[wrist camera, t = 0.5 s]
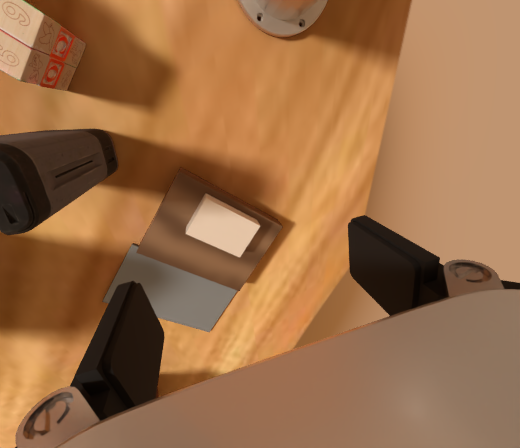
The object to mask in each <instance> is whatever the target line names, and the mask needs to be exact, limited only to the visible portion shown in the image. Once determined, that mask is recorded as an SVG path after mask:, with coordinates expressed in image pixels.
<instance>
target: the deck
mask: <svg viewBox="0 0 520 448" xmlns="http://www.w3.org/2000/svg"><path fill="white" fill-rule="evenodd" d="M205 193H206V194H208V195H210V196H212V197H214V198H216V199H218V200H220V201H222V202H224V203H226V204H227V205H229V206H231V207H233V208H235V209H237V210H239V211H241V212H243V213H245V214H247V215H248V216H250V217H252V218H254V219H256V220H257V221H258V223H259V224H260V227H259V229H258V230H257V232H256V234H255V235H254V237H253V238H252V240H251V241H250V243H249V244H248V246H247V247H246V249H245V250H244V252H243V254H242V255H241V257H237V256H235V255H233V254H230V253H228V252H226V251H224V250H221V249H219V248H217V247H214V246H212V245H210V244H208V243H205V242H203V241H201V240H198V239H196V238H194V237H191V236H189V235H187V234H186V227H187V225H188V223H189V221H190V219H191V218H192V216H193V214H194V212H195V211H196V209H197V207H198V205H199V204H200V202H201V200H202V198H203V197H204V195H205ZM282 227H283V226H282V225H281V224H280V222H279V221H278V220H277V219H275V218H273V217H271V216H270V215H268V214H266V213H264V212H262V211H260V210H259V209H257V208H255V207H253V206H251V205H249V204H248V203H246V202H244V201H242V200H240V199H238V198H237V197H235V196H233V195H231V194H229V193H227V192H225V191H224V190H222V189H220V188H218V187H216V186H214V185H213V184H211V183H209V182H207V181H205V180H203V179H202V178H200V177H198V176H196V175H194V174H192V173H191V172H189V171H187V170H185V169H183V168H181V167H180V169H179V171H178V173H177V175H176V177H175V179H174V180H173V182H172V184H171V186H170V188H169V190H168V192H167V194H166V196H165V198H164V199H163V201H162V203H161V205H160V207H159V209H158V211H157V213H156V215H155V216H154V218H153V220H152V222H151V224H150V226H149V228H148V230H147V232H146V233H145V235H144V237H143V239H142V241H141V243H140V245H139V247H138V250H137V252H136V253H138V254H141V255H144V256H146V257H149V258H152V259H154V260H157V261H160V262H162V263H165V264H168V265H170V266H173V267H176V268H178V269H181V270H184V271H186V272H189V273H192V274H194V275H197V276H200V277H202V278H205V279H208V280H210V281H213V282H216V283H218V284H221V285H224V286H226V287H229V288H232V289H234V290H237V291H240V289H241V288H242V286H243V285H244V283H245V282H246V280H247V279H248V277H249V276H250V275H251V273H252V272H253V270H254V269H255V267H256V266H257V264H258V263H259V261H260V260H261V258H262V257H263V255H264V254H265V252H266V251H267V249H268V248H269V246H270V245H271V243H272V242H273V241H274V239H275V238H276V236H277V235H278V233H279V232H280V230H281V229H282Z"/></svg>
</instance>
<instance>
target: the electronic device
mask: <svg viewBox="0 0 520 448" xmlns="http://www.w3.org/2000/svg"><path fill="white" fill-rule="evenodd" d="M117 168H118V161H117V157H116V153H115V149H114V145H113V141H112V139H111V137H110V136H109V134H107V133H106V132H105V131H103V130H100V129H76V130H49V131H37V132H28V133H18V134H9V135H0V231H1V232H2V233H4V234H6V235H14V234H20V233H25V232H28V231H30V230H32V229H33V228H35V227H36V226H38V225H39V224H40V223H42V222H43V221H45V220H46V219H48V218H49V217H51V216H52V215H53V214H55V213H56V212H58V211H59V210H61V209H62V208H64V207H65V206H66V205H68V204H69V203H71V202H72V201H74V200H75V199H77V198H78V197H79V196H81V195H82V194H84V193H85V192H87V191H88V190H89V189H91V188H92V187H94V186H95V185H97V184H98V183H99V182H101V181H102V180H104V179H105V178H107V177H108V176H110V175H111V174H112V173H114V172H115V171H116V170H117Z"/></svg>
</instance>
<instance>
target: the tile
mask: <svg viewBox="0 0 520 448" xmlns="http://www.w3.org/2000/svg"><path fill="white" fill-rule="evenodd" d="M259 227H260V224H259V223H258V221H257V220H256V219H254V218H252V217H250V216H248V215H247V214H245V213H243V212H241V211H239V210H237V209H235V208H233V207H231V206H229V205H227V204H226V203H224V202H222V201H220V200H218V199H216V198H214V197H212V196H210V195H208V194H206V193H205V195H204V197H203V198H202V200H201V202H200V204H199V205H198V207H197V209H196V211H195V212H194V214H193V216H192V218H191V219H190V221H189V223H188V225H187V227H186V234H187V235H189V236H191V237H194V238H196V239H198V240H201V241H203V242H205V243H208V244H210V245H212V246H214V247H217V248H219V249H221V250H224V251H226V252H228V253H230V254H233V255H235V256H237V257H241V255H242V254H243V252H244V250H245V249H246V247H247V246H248V244H249V243H250V241H251V240H252V238H253V237H254V235H255V234H256V232H257V230H258V229H259Z"/></svg>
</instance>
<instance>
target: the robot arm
mask: <svg viewBox="0 0 520 448" xmlns="http://www.w3.org/2000/svg"><path fill="white" fill-rule="evenodd" d="M327 1H328V0H238V2H239V4H240V6H241V8H242V10H243V12H244V13H245V14H246V16H247V17H248V19H249V20H250V21H251V22H252V23H253V24H254V25H255V26H256V27H257V28H259V29H260V30H262V31H263V32H265V33H267V34H270V35H272V36H276V37H291V36H294V35H297V34H299V33H301V32H303V31H304V30H306V29H307V28H308V27H310V26H311V25H312V24H313V23H314V22H315V21H316V20H317V18H318V17H319V16H320V15H321V13H322V11H323V10H324V8H325V6H326V4H327ZM257 17H259V18H260V21H258V20H257ZM299 23H300V24H301V27H300V26H299ZM348 237H349V263H350V273H351V276H352V277H353V279H354V280H356V282H357V283H358V284H360V286H361V287H362V288H363V289H364V290H365V291H366V292H367V293H368V294H369V295H370V296H371V297H372V298H373V299H374V300H375V301H376V302H377V303H378V304H379V305H380V306H381V307H382V308H383V309H384V310H385V311H386V312H387V313H388V314H389V315H390V316H389V317H386V318H383V319H380V320H377V321H374V322H371V323H368V324H366V325H363V326H360V327H357V328H354V329H351V330H348V331H345V332H342V333H339V334H336V335H334V336H331V337H328V338H325V339H322V340H319V341H316V342H313V343H310V344H307V345H305V346H302V347H299V348H296V349H293V350H290V351H287V352H285V353H282V354H279V355H276V356H273V357H270V358H267V359H264V360H262V361H259V362H256V363H253V364H250V365H247V366H245V367H242V368H239V369H236V370H233V371H231V372H228V373H225V374H222V375H219V376H217V377H214V378H211V379H208V380H205V381H202V382H200V383H197V384H194V385H191V386H188V387H186V388H183V389H180V390H177V391H175V392H172V393H169V394H166V395H164V396H161V397H158V398H156V391H157V385H158V378H159V371H160V364H161V357H162V350H163V343H164V331H163V328H162V326H161V324H160V322H159V320H158V318H157V316H156V314H155V312H154V310H153V308H152V306H151V304H150V301H149V299H148V297H147V295H146V293H145V291H144V289H143V287H142V285H141V284H140V283H136V282H135V281H130V282H127V283H123V284H119V285H118V286H117V287H116V290H115V292H114V294H113V296H112V298H111V300H110V302H109V304H108V306H107V309H106V311H105V313H104V315H103V317H102V319H101V321H100V323H99V325H98V328H97V330H96V332H95V334H94V336H93V338H92V340H91V342H90V344H89V346H88V349H87V351H86V353H85V355H84V357H83V359H82V361H81V363H80V365H79V368H78V370H77V372H76V374H75V377H74V379H73V381H72V383H71V385H70V387H65V388H61V389H59V390H57V391H54V392H52V393H51V394H49V395H48V396H46V397H45V398H43V399H42V400H41V401H40V402H39V403H37V404H36V405H35V406H34V407H33V408H32V409H31V410H30V411H29V413H28V414H27V415H26V416H25V417H24V419H23V420H22V422H21V423H20V425H19V427H18V430H17V432H16V444H17V447H15V448H520V283H516V282H509V281H503V280H500V279H499V277H498V275H497V273H496V272H495V271H494V270H493V269H491V268H490V267H488V266H486V265H484V264H482V263H478V262H475V261H470V260H452V261H449V262H447V263H446V264H445V265H442V264H440V263H439V260H440V258H439V257H437V256H436V255H434V254H432V253H430V252H429V251H427V250H425V249H423V248H422V247H420V246H418V245H416V244H415V243H413V242H411V241H409V240H407V239H406V238H404V237H402V236H401V235H399V234H397V233H395V232H394V231H392V230H390V229H388V228H386V227H385V226H383V225H381V224H379V223H377V222H376V221H374V220H372V219H371V218H369V217H367V216H365V215H364V216H360V217H356V218H353V219H352V220H351V222H350V223H349V224H348Z"/></svg>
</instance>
